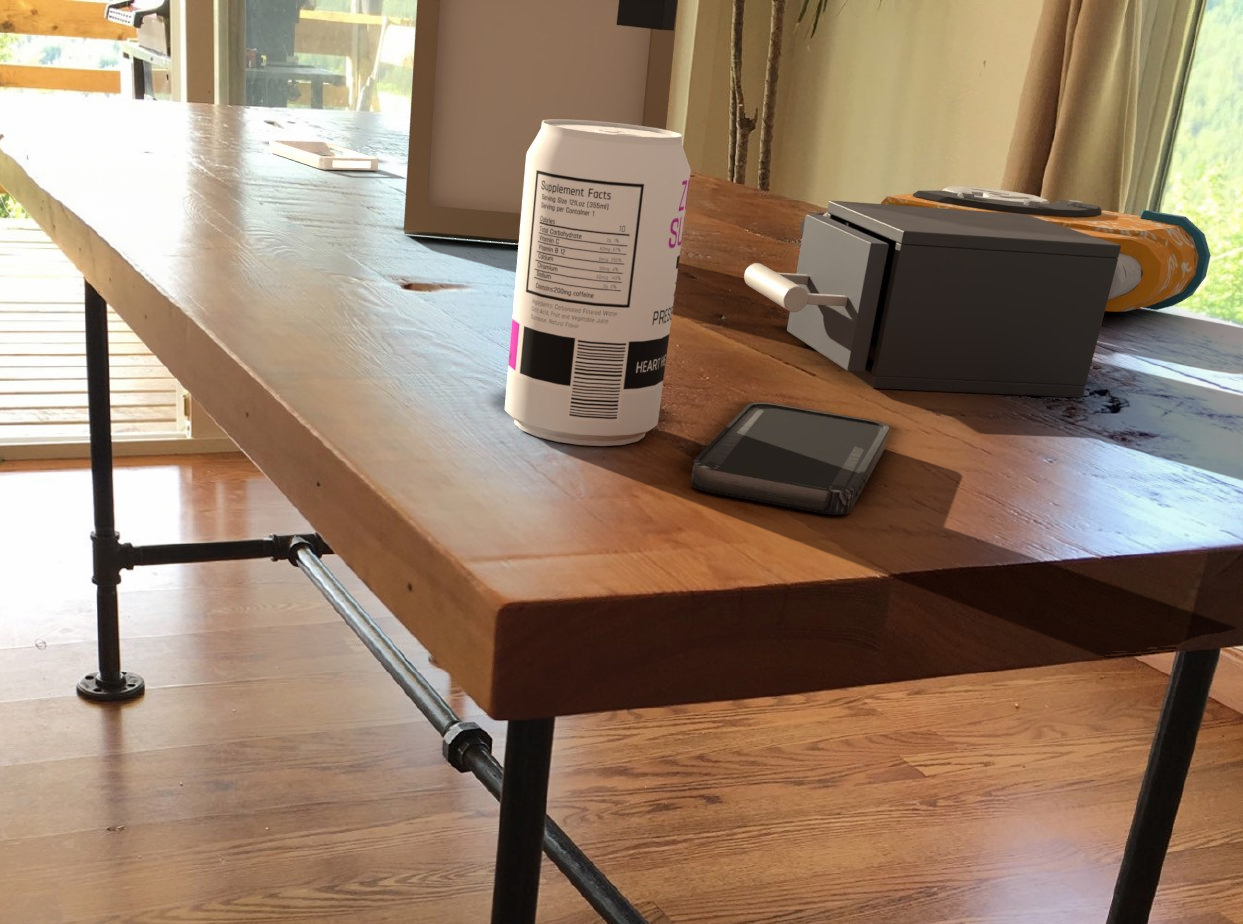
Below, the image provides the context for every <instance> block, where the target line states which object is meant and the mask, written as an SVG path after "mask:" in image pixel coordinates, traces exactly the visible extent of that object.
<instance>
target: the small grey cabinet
mask: <svg viewBox="0 0 1243 924" xmlns="http://www.w3.org/2000/svg"><path fill="white" fill-rule="evenodd" d="M826 212H828V213H827V216H826V217H827V218H830V219H832V220H834V221H837V222H839V223H841V224H844V221H848V222H851V223H853V224H855V225H858V226H860V227H863V228H865V229H867V230H870V231H872V232H874V233H877V234H879V235H881V236H884V237H886V238H888V239H891V240H893V241H895V242H898V243H896V247H895V252H894V258H893V263H892V268H891V273H890V278H889V283H888V289H887V294H886V299H885V304H884V309H883V315H882V320H881V325H880V330H879V335H878V341H877V346H876V351H875V356H874V360H872V359H870V358H869V357H867V363H866V368H865V371H864V372H860V371H847V370H846V369H844V368H843V367H841V366H840V365H838V364H836V363H835V362H833V361H832V360H830V359H829V358H827V357H826V356H824V355H823V354H821V353H820V352H818V351H817V350H815V349H814V348H812V347H811V346H809V345H808V344H806V343H805V342H804V343H805V345H807V346H808V347H810V348H812V349H813V350H815V351H816V352H818V353H819V354H821V355H822V356H824V357H825V358H827V359H828V360H830V361H831V362H833V363H834V364H836V365H837V366H839V367H840V368H842V369H844V370H845V371H846V372H848V373H849V374H851V375H852V376H854V377H855V378H857V379H858V380H860V381H862V383H865V384H866V385H868V386H869V387H871V388H872V389H874V388H880V389H879V390H894V389H902V390H901V391H920V392H939V393H940V392H941V393H965V394H985V395H988V394H989V395H1009V396H1010V395H1011V396H1032V397H1033V396H1034V397H1052V398H1054V397H1055V398H1074V399H1075V398H1077V399H1082V398H1083V397H1084V394H1085V389H1086V385H1087V382H1088V378H1089V374H1090V371H1091V366H1092V363H1093V359H1094V355H1095V351H1096V347H1097V344H1098V341H1099V335H1100V332H1101V327H1102V323H1103V321H1104V316H1105V312H1106V311H1105V309H1106V305H1107V301H1108V297H1109V293H1110V289H1111V285H1112V281H1113V277H1114V274H1115V270H1116V266H1117V262H1118V259H1117V258H1118V257H1119V253H1120V249H1121V245H1118V244H1115V243H1112V242H1109V241H1106V240H1103V239H1100V238H1097V237H1094V236H1091V235H1087V234H1084V233H1081V232H1078V231H1075V230H1072V229H1069V228H1066V227H1063V226H1060V225H1057V224H1054V223H1051V222H1048V221H1045V220H1042V219H1038V218H1035V217H1032V216H1029V215H1026V214H1015V213H1001V212H987V211H972V210H958V209H944V208H930V207H915V206H901V205H887V204H881V203H870V202H858V201H844V200H828V205H827V210H826Z"/></svg>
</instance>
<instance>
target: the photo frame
mask: <svg viewBox="0 0 1243 924" xmlns="http://www.w3.org/2000/svg"><path fill="white" fill-rule="evenodd" d="M618 6H619V0H416V13H415V14H416V16H415V29H414V30H415V31H414V46H413V47H414V49H413V63H412V64H413V66H412V82H411V84H412V85H411V98H410V99H411V100H410V115H409V131H408V133H409V134H408V150H407V164H406V183H405V199H404V200H405V201H404V218H403V219H404V220H403V234H404V235H410V236H420V237H421V236H422V237H433V238H443V239H444V238H445V239H455V238H456V239H457V240H467V239H468V241H478V240H480V241H479V242H490V241H491V243H492V242H493V243H502V242H503V244H513V243H515V245H519V235H520V223H521V212H522V200H523V188H524V176H525V165H526V154H527V152H528V150H529V148H530V147H531V145H532V143H533V141H534V140H535V138H536V136H537V135H538V133H539V131H540V130H541V126H542V121H543V120H551V119H557V120H587V121H599V122H611V123H620V124H629V125H637V126H644V127H652V128H658V129H663V130H667V123H668V112H669V101H670V91H671V82H672V70H673V60H674V49H675V40H676V39H675V38H676V30H677V29H676V28H677V18H678V9H679V0H678V1H677V9H676V17H675V26H674V31H672V30H657V29H648V28H639V27H630V26H621V25H616V24H617V15H618ZM456 239H455V240H456Z"/></svg>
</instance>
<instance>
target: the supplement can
mask: <svg viewBox="0 0 1243 924" xmlns="http://www.w3.org/2000/svg"><path fill="white" fill-rule="evenodd" d="M691 173H692V170H691V166H690V164H689V161H688V157H687V155H686V152H685V149H684V146H683V135H682V134H681V133H679V132H676V131H673V130H669V129H668V130H667V129H666V130H663V129H658V128H652V127H644V126H637V125H629V124H620V123H611V122H599V121H587V120H557V119H551V120H543V121H542V126H541V130H540V131H539V133H538V135H537V136H536V138H535V140H534V141H533V143H532V145H531V147H530V148H529V150H528V152H527V154H526V165H525V176H524V188H523V200H522V212H521V223H520V235H519V244H518V247H517V248H518V249H517V258H516V259H517V260H516V272H515V283H514V295H513V307H512V317H511V318H512V319H511V329H510V342H509V355H508V365H507V376H506V388H505V402H504V411H505V412H506V413H507V414H508V415H509V416H510V417H512V418H513V420H514V421H513V422H514V425H515V426H516V427H517V428H519V429H520V430H521V431H522V432H525V433H527V434H529V435H532V436H534V437H537V438H541V439H545V440H548V441H553V442H556V443H563V444H570V445H576V446H591V447H593V446H594V447H608V446H624V445H628V444H633V443H637V442H639V441H640V440H642V439H644V437H646V433H648V432H649V431H651V430H652V429H654V428H655V427H656V426H658V424H659V418H660V417H659V416H660V410H661V402H662V392H663V386H664V378H665V371H666V364H667V363H666V362H667V356H668V348H669V340H670V333H671V325H672V317H673V309H674V302H675V294H676V287H677V281H678V273H679V272H678V271H679V263H680V256H681V249H682V241H683V235H684V234H683V233H684V226H685V218H686V211H687V205H688V204H687V203H688V196H689V187H690V179H691Z"/></svg>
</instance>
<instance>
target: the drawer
mask: <svg viewBox="0 0 1243 924" xmlns="http://www.w3.org/2000/svg"><path fill="white" fill-rule="evenodd" d="M805 217H806V218H805ZM805 217H804V218H805V224H804V230H803V236H802V235H801V242H800V249H799V255H798V261H797V267H796V273H793V272H792V273H789V272H776V271H774V270H773V269H771V268H769V267H767V266H766V265H764V264H763V263H760V262H754V263H751V264H749V266H748V267H747V268H746V269H745V271H744V274H743V275H744V276H743V279H744V282H745V284H746V285H747V286H748V287H749V288H751V289H753V290H754V291H755V292H758V293H759V294H761V295H762V296H764V297H766V298H767V299H768V300H771V301H772V302H774V303H775V304H777V305H779V306H780V307H782V308H783V309H785V310H786V311H788V312H789V314H788V322H787V327H786V331H787V332H788V333H790V334H791V335H792V336H794V337H795V338H797V339H798V340H800V341H801V342H803V343H806V344H805V345H807V344H808V345H809V346H808V345H807V346H808V347H810V346H811V347H810V348H811V349H813V348H814V349H813V350H815V351H816V350H817V351H816V352H818V353H819V352H820V353H819V354H820V355H822V354H823V355H822V356H824V357H825V356H826V357H825V358H827V359H828V358H829V359H828V360H829V361H831V360H832V361H831V362H833V363H834V362H835V363H834V364H836V365H837V364H838V365H837V366H839V365H840V366H841V367H840V366H839V367H840V368H842V367H843V368H844V370H845V369H846V370H847V371H846V370H845V371H846V372H848V371H860V372H864V371H865V368H866V363H867V357H869V358H870V359H872V360H874V356H875V351H876V346H877V341H878V335H879V330H880V325H881V320H882V315H883V309H884V304H885V299H886V294H887V289H888V283H889V278H890V273H891V268H892V263H893V258H894V252H895V247H896V243H898V242H895V241H893V240H891V239H888V238H886V237H884V236H881V235H879V234H877V233H874V232H872V231H870V230H867V229H865V228H863V227H860V226H858V225H855V224H853V223H851V222H848V221H844V224H841V223H839V222H837V221H834V220H832V219H830V218H827V217H825V216H823V215H813V213H806V214H805ZM843 368H842V369H843Z"/></svg>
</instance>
